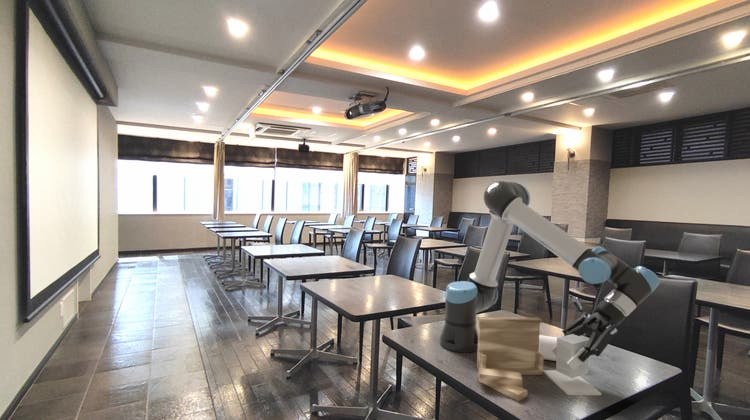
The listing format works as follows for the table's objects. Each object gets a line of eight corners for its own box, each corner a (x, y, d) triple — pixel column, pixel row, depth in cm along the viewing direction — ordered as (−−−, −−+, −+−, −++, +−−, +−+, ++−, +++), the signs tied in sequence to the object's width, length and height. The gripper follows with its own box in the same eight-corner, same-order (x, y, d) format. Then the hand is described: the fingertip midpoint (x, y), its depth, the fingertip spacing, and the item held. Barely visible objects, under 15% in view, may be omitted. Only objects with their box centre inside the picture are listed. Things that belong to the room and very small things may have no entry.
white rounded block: (571, 367, 122) (572, 344, 122) (538, 362, 126) (539, 339, 126) (566, 353, 133) (567, 332, 133) (537, 349, 137) (538, 328, 137)
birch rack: (476, 367, 120) (477, 316, 120) (536, 367, 121) (538, 317, 121) (480, 374, 116) (482, 321, 115) (543, 374, 117) (545, 322, 116)
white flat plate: (543, 372, 118) (543, 370, 118) (572, 372, 119) (572, 370, 119) (567, 395, 104) (567, 393, 104) (601, 395, 105) (601, 393, 105)
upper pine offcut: (479, 381, 107) (479, 373, 107) (478, 375, 111) (478, 367, 111) (522, 387, 105) (522, 379, 105) (519, 380, 109) (520, 372, 108)
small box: (571, 365, 116) (572, 333, 115) (588, 373, 111) (589, 339, 111) (555, 370, 112) (556, 337, 112) (572, 379, 107) (573, 343, 107)
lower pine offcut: (476, 382, 112) (477, 374, 112) (485, 378, 114) (486, 370, 114) (518, 403, 100) (518, 394, 100) (527, 398, 103) (527, 390, 103)
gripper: (649, 329, 101) (591, 385, 101) (599, 306, 122) (551, 353, 122) (632, 310, 101) (573, 366, 100) (584, 291, 122) (536, 338, 121)
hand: (561, 359), depth 111 cm, fingers closed on small box, 8 cm apart
